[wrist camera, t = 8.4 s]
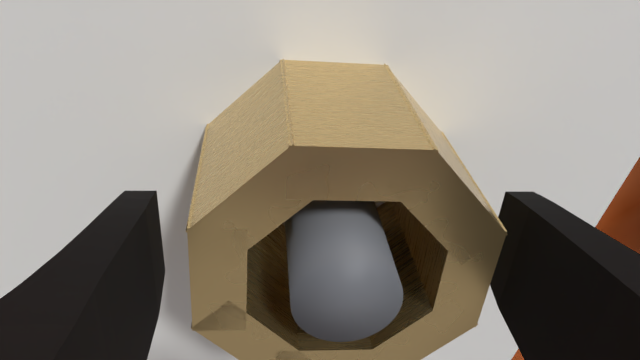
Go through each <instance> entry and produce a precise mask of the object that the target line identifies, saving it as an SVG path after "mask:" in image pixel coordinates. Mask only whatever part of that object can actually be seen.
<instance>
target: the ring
mask: <svg viewBox="0 0 640 360" xmlns="http://www.w3.org/2000/svg"><path fill="white" fill-rule="evenodd" d="M312 200H332V201H386V202H385V203H383V204H382V205H380V206H379V207H378V208H377V211H378V214H379V217H380V220H381V223H382V226H383V229H384V232H385V236H386V239H387V242H388V245H389V248H390V251H391V254H392V257H393V260H394V263H395V266H396V269H397V272H398V275H399V278H400V281H401V285H402V288H403V302H402V306H401V308H400V310H399V312H398V314H397V315H396V317H395V318H394V319H393V320H392V322H391V323H390V324H388V325H387V326H386V327H385V328H383V329H382V330H380V331H379V332H377V333H375V334H373V335H371V336H369V337H366V338H363V339H360V340H355V341H348V342H332V341H326V340H322V339H319V338H316V337H313V336H311V335H310V334H308V333H306V332H305V331H304V330H302V329H301V328H300V327H299V326H298V324H297V323H296V322H295V320H294V318H293V316H292V313H291V306H290V292H289V277H288V262H287V248H286V233H285V226H284V225H283V224H282V223H284V222H285V221H286V220H288V219H289V218H290V217H292V216H293V215H294V214H295V213H297V212H298V211H299V210H301V209H302V208H303V207H305V206H306V205H307V204H309V203H310V202H311V201H312ZM185 232H187V238H188V256H189V275H190V293H191V312H192V324H191V329H192V330H193V331H196V332H197V333H199V334H200V335H202V336H203V337H205V338H206V339H208V340H209V341H211V342H212V343H214V344H215V345H217V346H218V347H220V348H222V349H223V350H225V351H226V352H228V353H229V354H231V355H232V356H234V357H235V358H237V359H238V360H421V359H423V358H425V357H426V356H428V355H429V354H431V353H433V352H434V351H436V350H438V349H439V348H441V347H443V346H444V345H446V344H447V343H449V342H451V341H452V340H454V339H456V338H457V337H459V336H461V335H462V334H464V333H465V332H467V331H469V330H470V329H472V328H474V327H476V326H477V325H478V320H479V317H480V314H481V311H482V308H483V304H484V301H485V298H486V295H487V292H488V289H489V286H490V283H491V280H492V277H493V274H494V271H495V268H496V265H497V262H498V258H499V255H500V252H501V249H502V246H503V243H504V240H505V237H506V235H508V234H507V230H506V229H505V227H504V226H503V224H502V223H501V221H500V219H499V218H498V216H497V215H496V213H495V212H494V210H493V209H492V207H491V206H490V204H489V202H488V201H487V199H486V198H485V196H484V195H483V193H482V192H481V190H480V189H479V187H478V186H477V184H476V182H475V181H474V179H473V178H472V176H471V175H470V173H469V172H468V170H467V169H466V167H465V165H464V164H463V162H462V161H461V159H460V158H459V156H458V155H457V153H456V152H455V150H454V148H453V147H452V145H451V144H450V142H449V141H448V139H447V138H446V136H445V135H444V133H443V132H441V131H440V130H439V129H438V127H437V126H436V125H435V124H434V123H433V121H432V120H431V119H430V118H429V116H428V115H427V114H426V113H425V112H424V110H423V109H422V108H421V107H420V105H419V104H418V103H417V102H416V101H415V99H414V98H413V97H412V96H411V95H410V93H409V92H408V91H407V90H406V88H405V87H404V86H403V85H402V84H401V82H400V81H399V80H398V79H397V77H396V76H395V75H394V74H393V73H392V71H391V69H390V68H389V66H388V65H386V64H384V65H380V64H359V63H339V62H319V61H298V60H284V59H282V60H280V62H279V63H278V64H276V65H275V66H274V67H273V68H272V69H271V70H270V71H268V72H267V73H266V74H265V75H264V76H263V77H262V78H260V79H259V80H258V81H257V82H256V83H255V84H254V85H252V86H251V87H250V88H249V89H248V90H247V91H246V92H244V93H243V94H242V95H241V96H240V97H239V98H238V99H236V100H235V101H234V102H233V103H232V104H231V105H230V106H229V107H227V108H226V109H225V110H224V111H223V112H222V113H221V114H219V115H218V116H217V117H216V118H215V119H214V120H213V121H211V122H210V123H209V124H207V126H206V127H205V133H204V138H203V143H202V148H201V153H200V159H199V164H198V169H197V174H196V179H195V185H194V190H193V195H192V200H191V205H190V210H189V216H188V221H187V226H186V231H185Z"/></svg>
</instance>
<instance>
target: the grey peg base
mask: <svg viewBox="0 0 640 360" xmlns="http://www.w3.org/2000/svg"><path fill="white" fill-rule="evenodd" d="M282 59H284V60H298V61H319V62H339V63H359V64H380V65H384V64H386V65H388V66H389V68H390V69H391V71H392V73H393V74H394V75H395V76H396V77H397V79H398V80H399V81H400V82H401V84H402V85H403V86H404V87H405V88H406V90H407V91H408V92H409V93H410V95H411V96H412V97H413V98H414V99H415V101H416V102H417V103H418V104H419V105H420V107H421V108H422V109H423V110H424V112H425V113H426V114H427V115H428V116H429V118H430V119H431V120H432V121H433V123H434V124H435V125H436V126H437V127H438V129H439V130H440V131H441V132H443V133H444V135H445V136H446V138H447V139H448V141H449V142H450V144H451V145H452V147H453V148H454V150H455V152H456V153H457V155H458V156H459V158H460V159H461V161H462V162H463V164H464V165H465V167H466V169H467V170H468V172H469V173H470V175H471V176H472V178H473V179H474V181H475V182H476V184H477V186H478V187H479V189H480V190H481V192H482V193H483V195H484V196H485V198H486V199H487V201H488V202H489V204H490V206H491V207H492V209H493V210H494V212H495V213H496V215H497V216H499V213H500V209H501V206H502V202H503V199H504V195H505V192H535V193H537V194H539V195H541V196H543V197H545V198H547V199H549V200H550V201H552V202H554V203H556V204H557V205H559V206H561V207H562V208H564V209H566V210H567V211H569V212H571V213H572V214H574V215H576V216H577V217H579V218H580V219H582V220H584V221H585V222H587V223H589V224H590V225H592V226H593V227H595V226H596V225H597V223H598V222H599V220H600V219H601V217H602V215H603V214H604V212H605V211H606V209H607V208H608V206H609V204H610V203H611V201H612V200H613V198H614V196H615V195H616V193H617V192H618V190H619V189H620V187H621V185H622V184H623V182H624V181H625V179H626V177H627V176H628V174H629V173H630V171H631V170H632V168H633V166H634V165H635V163H636V162H637V160H638V159H639V157H640V0H0V298H2V297H3V296H4V295H6V294H7V293H9V292H10V291H11V290H13V289H14V288H15V287H17V286H18V285H19V284H21V283H22V282H23V281H24V280H26V279H27V278H28V277H29V276H30V275H32V274H33V273H34V272H35V271H37V270H38V269H39V268H40V267H41V266H43V265H44V264H45V263H46V262H47V261H49V260H50V259H51V258H52V257H54V256H55V255H56V254H57V253H58V252H59V251H61V250H62V249H63V248H64V247H65V246H66V245H67V244H68V243H69V242H70V241H72V240H73V239H74V238H75V237H76V236H77V235H78V234H79V233H80V232H81V231H82V230H84V229H85V228H86V227H87V226H88V225H89V224H90V223H91V222H92V221H93V220H94V219H95V218H96V217H97V216H98V215H99V214H100V213H101V212H102V211H103V210H104V209H105V208H107V207H108V206H109V205H110V204H111V203H112V202H113V201H114V200H115V199H116V198H117V197H118V196H119V195H120V194H122V193H123V192H124V191H157V199H158V208H159V218H160V227H161V236H162V245H163V254H164V263H165V277H164V285H163V292H162V299H161V306H160V312H159V317H158V321H157V325H156V328H155V332H154V336H153V339H152V343H151V347H150V350H149V354H148V357H147V360H238V359H237V358H235V357H234V356H232V355H231V354H229V353H228V352H226V351H225V350H223V349H222V348H220V347H218V346H217V345H215V344H214V343H212V342H211V341H209V340H208V339H206V338H205V337H203V336H202V335H200V334H199V333H197V332H196V331H193V330H192V329H191V324H192V312H191V293H190V275H189V256H188V238H187V232H185V231H186V226H187V221H188V216H189V210H190V205H191V200H192V195H193V190H194V185H195V179H196V174H197V169H198V164H199V159H200V153H201V148H202V143H203V138H204V133H205V127H206V126H207V124H209V123H210V122H211V121H213V120H214V119H215V118H216V117H217V116H218V115H219V114H221V113H222V112H223V111H224V110H225V109H226V108H227V107H229V106H230V105H231V104H232V103H233V102H234V101H235V100H236V99H238V98H239V97H240V96H241V95H242V94H243V93H244V92H246V91H247V90H248V89H249V88H250V87H251V86H252V85H254V84H255V83H256V82H257V81H258V80H259V79H260V78H262V77H263V76H264V75H265V74H266V73H267V72H268V71H270V70H271V69H272V68H273V67H274V66H275V65H276V64H278V63H279V62H280V60H282ZM385 202H386V201H332V200H312V201H311V202H310V203H309V204H307V205H306V206H305V207H303V208H302V209H301V210H299V211H298V212H297V213H295V214H294V215H293V216H292V217H290V218H289V219H288V220H286V221H285V222H284V223H282V224H283V225H284V226H285V233H286V248H287V262H288V277H289V292H290V306H291V313H292V316H293V318H294V320H295V322H296V323H297V324H298V326H299V327H300V328H301V329H302V330H304V331H305V332H306V333H308V334H310V335H311V336H313V337H316V338H319V339H322V340H326V341H332V342H348V341H355V340H360V339H363V338H366V337H369V336H371V335H373V334H375V333H377V332H379V331H380V330H382V329H383V328H385V327H386V326H387V325H388V324H390V323H391V322H392V320H393V319H394V318H395V317H396V315H397V314H398V312H399V310H400V308H401V306H402V302H403V288H402V285H401V281H400V278H399V275H398V272H397V269H396V266H395V263H394V260H393V257H392V254H391V251H390V248H389V245H388V242H387V239H386V236H385V232H384V229H383V226H382V223H381V220H380V217H379V214H378V211H377V208H378V207H379V206H380V205H382V204H383V203H385ZM517 350H518V346H517V344H516V342H515V340H514V338H513V336H512V334H511V332H510V330H509V328H508V326H507V324H506V322H505V320H504V318H503V316H502V314H501V312H500V310H499V308H498V306H497V303H496V300H495V297H494V295H493V292H492V289H491V286H489V289H488V292H487V295H486V298H485V301H484V304H483V308H482V311H481V314H480V317H479V320H478V325H477V326H476V327H474V328H472V329H470V330H469V331H467V332H465V333H464V334H462V335H461V336H459V337H457V338H456V339H454V340H452V341H451V342H449V343H447V344H446V345H444V346H443V347H441V348H439V349H438V350H436V351H434V352H433V353H431V354H429V355H428V356H426V357H425V358H423V359H421V360H511V359H512V358H513V356H514V354H515V353H516V351H517Z"/></svg>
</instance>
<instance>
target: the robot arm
mask: <svg viewBox="0 0 640 360" xmlns="http://www.w3.org/2000/svg"><path fill="white" fill-rule="evenodd" d="M498 218H499V219H500V221H501V223H502V224H503V226H504V227H505V229H506V230H507V234H508V235H506V237H505V240H504V243H503V246H502V249H501V252H500V255H499V258H498V262H497V265H496V268H495V271H494V274H493V277H492V280H491V283H490V286H491V289H492V292H493V295H494V297H495V300H496V303H497V306H498V308H499V310H500V312H501V314H502V316H503V318H504V320H505V322H506V324H507V326H508V328H509V330H510V332H511V334H512V336H513V338H514V340H515V342H516V344H517V346H518V348H519V350H520V352H521V354H522V356H523V358H524V360H640V254H638V253H637V252H635V251H633V250H631V249H630V248H628V247H626V246H625V245H623V244H621V243H620V242H618V241H616V240H615V239H613V238H611V237H610V236H608V235H606V234H605V233H603V232H602V231H600V230H598V229H597V228H595V227H593V226H592V225H590V224H589V223H587V222H585V221H584V220H582V219H580V218H579V217H577V216H576V215H574V214H572V213H571V212H569V211H567V210H566V209H564V208H562V207H561V206H559V205H557V204H556V203H554V202H552V201H550V200H549V199H547V198H545V197H543V196H541V195H539V194H537V193H535V192H505V195H504V199H503V202H502V206H501V209H500V213H499V216H498ZM164 277H165V263H164V254H163V245H162V236H161V227H160V218H159V208H158V199H157V191H124V192H123V193H122V194H120V195H119V196H118V197H117V198H116V199H115V200H114V201H113V202H112V203H111V204H110V205H109V206H108V207H107V208H105V209H104V210H103V211H102V212H101V213H100V214H99V215H98V216H97V217H96V218H95V219H94V220H93V221H92V222H91V223H90V224H89V225H88V226H87V227H86V228H85V229H84V230H82V231H81V232H80V233H79V234H78V235H77V236H76V237H75V238H74V239H73V240H72V241H70V242H69V243H68V244H67V245H66V246H65V247H64V248H63V249H62V250H61V251H59V252H58V253H57V254H56V255H55V256H54V257H52V258H51V259H50V260H49V261H47V262H46V263H45V264H44V265H43V266H41V267H40V268H39V269H38V270H37V271H35V272H34V273H33V274H32V275H30V276H29V277H28V278H27V279H26V280H24V281H23V282H22V283H21V284H19V285H18V286H17V287H15V288H14V289H13V290H11V291H10V292H9V293H7V294H6V295H4V296H3V297H2V298H0V360H147V357H148V354H149V350H150V347H151V343H152V339H153V336H154V332H155V328H156V325H157V321H158V317H159V312H160V306H161V299H162V292H163V285H164Z"/></svg>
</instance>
